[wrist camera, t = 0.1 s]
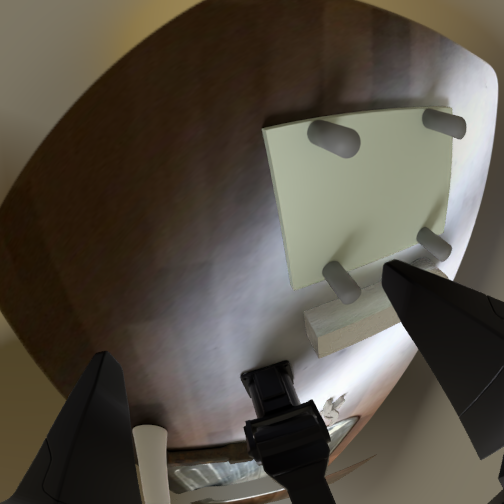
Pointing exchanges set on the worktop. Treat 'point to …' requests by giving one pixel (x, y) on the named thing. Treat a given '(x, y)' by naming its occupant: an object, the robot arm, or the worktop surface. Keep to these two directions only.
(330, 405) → the pliers
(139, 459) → the cosmetic bottle
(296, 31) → the worktop surface
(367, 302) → the round-ended glossy bar
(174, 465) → the hand tool
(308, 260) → the peg board
